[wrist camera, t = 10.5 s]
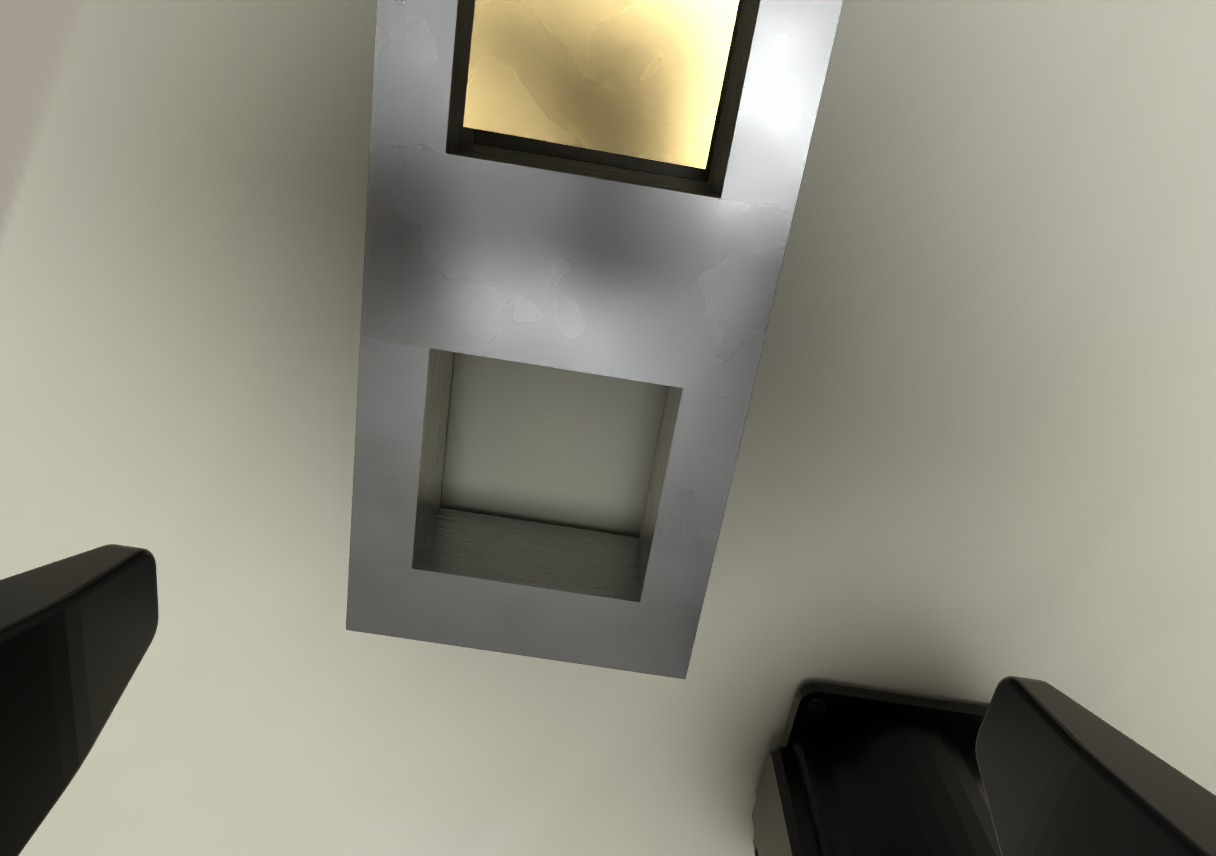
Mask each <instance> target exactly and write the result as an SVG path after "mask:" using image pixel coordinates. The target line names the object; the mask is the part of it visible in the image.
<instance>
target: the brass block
mask: <svg viewBox="0 0 1216 856" xmlns="http://www.w3.org/2000/svg"><path fill="white" fill-rule="evenodd" d="M738 4H739V0H475V9H474V19H473V30H472V40H471V50H470V61H469V71H468V81H467V92H466V102H465V112H464V123H463V127H468V128H474V129H480V130H485V131H491V132H497V133H502V134H508V135H514V136H519V137H525V138H531V139H536V140H542V141H548V142H554V143H559V144H565V145H571V146H576V147H582V148H588V149H593V150H599V151H605V152H610V153H616V154H622V155H627V156H633V157H639V158H644V159H650V160H656V161H662V162H667V163H673V164H679V165H684V166H690V167H696V168H701V169H706V164H707V159H708V154H709V149H710V144H711V139H712V134H713V129H714V124H715V119H716V114H717V109H718V104H719V99H720V94H721V89H722V84H723V79H724V74H725V69H726V64H727V59H728V54H729V49H730V44H731V39H732V34H733V29H734V24H735V19H736V14H737V9H738Z"/></svg>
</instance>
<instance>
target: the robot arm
mask: <svg viewBox="0 0 1216 856" xmlns="http://www.w3.org/2000/svg"><path fill="white" fill-rule="evenodd" d="M157 625H158V595H157V575H156V563H155V559H154V556H153V554H152V553H151V552H150V551H148V550H147V549H143V548H136V547H129V546H122V545H116V544H110V545H105V546H102V547H99V548H96V549H93V550H90V551H87V552H84V553H81V554H78V555H75V556H72V557H69V558H66V559H63V560H60V561H57V562H54V563H51V564H48V565H45V566H41V567H38V568H35V569H32V570H29V571H26V572H23V573H20V574H17V575H14V576H11V577H8V578H5V579H2V580H0V856H18V855H19V854H20V853H21V851H22V850H23V848H24V847H25V846H26V844H27V843H28V841H29V840H30V838H31V837H32V836H33V834H34V833H35V831H36V830H37V829H38V827H39V826H40V824H41V823H42V822H43V820H44V819H45V817H46V816H47V815H48V813H49V812H50V810H51V809H52V808H53V806H54V805H55V803H56V802H57V801H58V799H59V798H60V796H61V795H62V793H63V792H64V791H65V789H66V788H67V786H68V785H69V783H70V782H71V780H72V779H73V777H74V776H75V774H76V773H77V771H78V770H79V769H80V767H81V765H82V764H83V762H84V760H85V759H86V757H87V755H88V754H89V752H90V750H91V749H92V747H93V745H94V744H95V742H96V740H97V738H98V736H99V735H100V733H101V731H102V729H103V728H104V726H105V724H106V722H107V720H108V719H109V717H110V715H111V713H112V712H113V710H114V708H115V706H116V704H117V703H118V701H119V699H120V697H121V696H122V694H123V692H124V690H125V688H126V687H127V685H128V683H129V681H130V680H131V678H132V676H133V674H134V672H135V671H136V669H137V667H138V665H139V664H140V662H141V660H142V658H143V656H144V655H145V653H146V651H147V649H148V648H149V646H150V644H151V642H152V640H153V638H154V635H155V633H156V629H157ZM814 699H820V700H821V702H819V703H817V704H809V702H810V701H812V700H814ZM752 820H753V826H754V832H755V836H754V840H753V846H754V853H755V856H1216V796H1215V795H1214V794H1212V793H1211V792H1209V791H1208V790H1206V789H1205V788H1203V787H1202V786H1200V785H1199V784H1197V783H1196V782H1194V781H1193V780H1191V779H1190V778H1188V777H1187V776H1185V775H1184V774H1182V773H1181V772H1179V771H1178V770H1176V769H1175V768H1173V767H1172V766H1170V765H1169V764H1168V763H1166V762H1165V761H1163V760H1162V759H1160V758H1159V757H1157V756H1156V755H1154V754H1153V753H1151V752H1150V751H1148V750H1147V749H1145V748H1144V747H1142V746H1141V745H1139V744H1138V743H1136V742H1135V741H1133V740H1132V739H1130V738H1129V737H1127V736H1126V735H1124V734H1123V733H1121V732H1120V731H1118V730H1117V729H1115V728H1114V727H1112V726H1111V725H1109V724H1108V723H1107V722H1105V721H1104V720H1102V719H1101V718H1099V717H1098V716H1096V715H1095V714H1093V713H1092V712H1090V711H1089V710H1087V709H1086V708H1084V707H1083V706H1081V705H1080V704H1078V703H1077V702H1075V701H1074V700H1072V699H1071V698H1069V697H1068V696H1066V695H1065V694H1063V693H1062V692H1060V691H1059V690H1057V689H1056V688H1054V687H1053V686H1051V685H1050V684H1048V683H1047V682H1044V681H1041V680H1035V679H1028V678H1021V677H1014V676H1008V677H1006V678H1004V679H1002V680H1001V681H1000V682H999V683H998V685H997V687H996V689H995V692H994V694H993V697H992V699H991V702H990V704H989V707H982V706H975V705H968V704H961V703H954V702H947V701H941V700H934V699H927V698H920V697H913V696H906V695H900V694H893V693H886V692H879V691H872V690H865V689H859V688H852V687H845V686H838V685H831V684H824V683H809V684H806V685H804V686H803V687H801V688H800V689H799V690H798V692H797V694H796V697H795V700H794V704H793V707H792V710H791V714H790V717H789V721H788V724H787V727H786V731H785V734H784V738H783V741H782V744H781V746H777V747H776V748H774V749H773V750H772V751H771V752H770V754H769V757H768V761H767V764H766V768H765V771H764V775H763V778H762V781H761V785H760V788H759V792H758V795H757V799H756V802H755V806H754V809H753V813H752Z"/></svg>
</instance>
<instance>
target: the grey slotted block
mask: <svg viewBox="0 0 1216 856" xmlns="http://www.w3.org/2000/svg"><path fill="white" fill-rule="evenodd" d="M842 3H843V0H743V3H742V8H741V13H740V18H739V24H738V29H737V34H736V39H735V44H734V49H733V55H732V60H731V65H730V70H729V75H728V81H727V86H726V91H725V96H724V101H723V106H722V112H721V117H720V122H719V127H718V132H717V137H716V143H715V148H714V153H713V158H712V163H711V169H710V174H709V179H708V182H702V181H696V180H689V179H683V178H677V177H671V176H665V175H659V174H653V173H647V172H641V171H635V170H629V169H623V168H617V167H611V166H605V165H599V164H593V163H587V162H581V161H575V160H569V159H562V158H556V157H550V156H544V155H538V154H532V153H526V152H520V151H514V150H508V149H502V148H496V147H490V146H484V145H478V144H473V142H474V131H475V129H474V128H468V127H463V123H464V112H465V102H466V92H467V81H468V71H469V61H470V50H471V40H472V30H473V19H474V9H475V0H377V12H376V32H375V53H374V73H373V93H372V113H371V133H370V154H369V174H368V194H367V214H366V234H365V255H364V275H363V295H362V315H361V335H360V356H359V376H358V396H357V416H356V436H355V457H354V477H353V497H352V517H351V537H350V558H349V578H348V598H347V618H346V630H351V631H358V632H365V633H372V634H379V635H386V636H392V637H399V638H406V639H413V640H420V641H427V642H434V643H441V644H447V645H454V646H461V647H468V648H475V649H482V650H489V651H495V652H502V653H509V654H516V655H523V656H530V657H537V658H543V659H550V660H557V661H564V662H571V663H578V664H585V665H592V666H598V667H605V668H612V669H619V670H626V671H633V672H640V673H646V674H653V675H660V676H667V677H674V678H681V679H685V678H686V674H687V670H688V665H689V661H690V657H691V652H692V648H693V644H694V640H695V635H696V631H697V627H698V622H699V618H700V614H701V609H702V605H703V601H704V597H705V592H706V588H707V584H708V579H709V575H710V571H711V566H712V562H713V558H714V554H715V549H716V545H717V541H718V536H719V532H720V528H721V523H722V519H723V515H724V511H725V506H726V502H727V498H728V493H729V489H730V485H731V480H732V476H733V472H734V468H735V463H736V459H737V455H738V450H739V446H740V442H741V437H742V433H743V429H744V425H745V420H746V416H747V412H748V407H749V403H750V399H751V394H752V390H753V386H754V382H755V377H756V373H757V369H758V364H759V360H760V356H761V351H762V347H763V343H764V339H765V334H766V330H767V326H768V321H769V317H770V313H771V308H772V304H773V300H774V296H775V291H776V287H777V283H778V278H779V274H780V270H781V265H782V261H783V257H784V253H785V248H786V244H787V240H788V235H789V231H790V227H791V222H792V218H793V214H794V210H795V205H796V201H797V197H798V192H799V188H800V184H801V179H802V175H803V171H804V167H805V162H806V158H807V154H808V149H809V145H810V141H811V136H812V132H813V128H814V124H815V119H816V115H817V111H818V106H819V102H820V98H821V93H822V89H823V85H824V81H825V76H826V72H827V68H828V63H829V59H830V55H831V50H832V46H833V42H834V38H835V33H836V29H837V25H838V20H839V16H840V12H841V7H842ZM454 352H457V353H463V354H470V355H476V356H482V357H489V358H495V359H501V360H508V361H514V362H520V363H527V364H533V365H540V366H546V367H552V368H559V369H565V370H571V371H578V372H584V373H590V374H597V375H603V376H610V377H616V378H622V379H629V380H635V381H641V382H648V383H654V384H660V385H667V386H668V391H667V396H666V401H665V407H664V412H663V417H662V422H661V427H660V432H659V438H658V443H657V448H656V453H655V458H654V464H653V469H652V474H651V479H650V484H649V489H648V495H647V500H646V505H645V510H644V515H643V520H642V526H641V531H640V536H639V538H638V537H631V536H624V535H618V534H611V533H604V532H598V531H591V530H585V529H578V528H571V527H565V526H558V525H551V524H545V523H538V522H532V521H525V520H518V519H512V518H505V517H498V516H492V515H485V514H479V513H472V512H465V511H459V510H452V509H445V508H440V499H441V488H442V477H443V466H444V456H445V445H446V434H447V423H448V412H449V402H450V391H451V380H452V369H453V358H454Z"/></svg>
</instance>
